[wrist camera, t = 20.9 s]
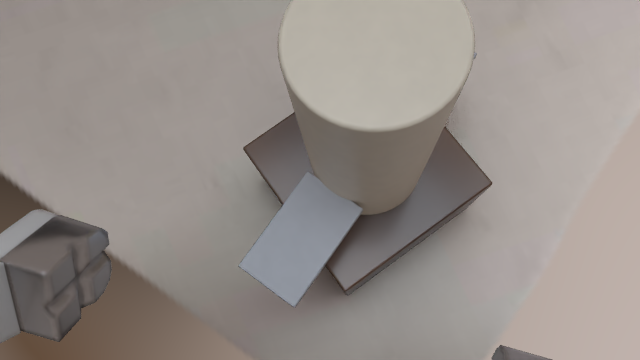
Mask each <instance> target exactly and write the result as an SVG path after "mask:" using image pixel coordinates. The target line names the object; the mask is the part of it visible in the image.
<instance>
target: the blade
mask: <svg viewBox="0 0 640 360" xmlns="http://www.w3.org/2000/svg"><path fill="white" fill-rule="evenodd" d="M476 55H477V54H476V53H475V33H474V28H473V23H472V20H471V17H470V15H469V12H468V9H467V7H466V6H465V4H464V2H463V0H291V2H290V4H289V6H288V8H287V10H286V11H285V13H284V16H283V19H282V22H281V25H280V30H279V35H278V57H279V62H280V66H281V70H282V73H283V77H284V80H285V83H286V86H287V89H288V93H289V96H290V99H291V102H292V105H293V109H294V112H295V115H296V118H297V121H298V125H299V128H300V131H301V134H302V137H303V141H304V144H305V147H306V150H307V153H308V157H309V160H310V163H311V166H312V169H313V173H314V175H312V174H311V173H309V172H307V173H306V174H305V175H304V177H303V178H302V180H301V181H300V182H299V184H298V185H297V186H296V188H295V189H294V190H293V192H292V193H291V195H290V196H289V197H288V199H287V200H286V201H285V203H284V204H283V205H282V207H281V208H280V210H279V211H278V212H277V214H276V215H275V216H274V218H273V219H272V220H271V222H270V223H269V225H268V226H267V227H266V229H265V230H264V231H263V233H262V234H261V235H260V237H259V238H258V239H257V241H256V242H255V244H254V245H253V246H252V248H251V249H250V250H249V252H248V253H247V254H246V256H245V257H244V259H243V260H242V261H241V263H240V264H239V267H240V268H241V269H243V270H244V271H245V272H247V273H248V274H249V275H251V276H252V277H253V278H255V279H256V280H257V281H259V282H260V283H261V284H263V285H264V286H265V287H267V288H268V289H269V290H271V291H272V292H274V293H275V294H276V295H278V296H279V297H280V298H282V299H283V300H284V301H286V302H287V303H288V304H290V305H291V306H292V307H296V306H297V305H298V303H299V302H300V300H301V299H302V297H303V296H304V295H305V293H306V292H307V290H308V289H309V287H310V286H311V285H312V283H313V282H314V280H315V279H316V277H317V276H318V275H319V273H320V272H321V270H322V269H323V267H324V266H325V265H326V263H327V262H328V260H329V259H330V257H331V256H332V255H333V253H334V252H335V250H336V249H337V247H338V246H339V245H340V243H341V242H342V240H343V239H344V237H345V236H346V235H347V233H348V232H349V230H350V229H351V227H352V226H353V225H354V223H355V222H356V220H357V219H358V217H359V216H360V215H373V214H379V213H383V212H386V211H389V210H391V209H393V208H395V207H397V206H398V205H400V204H401V203H402V202H404V201H405V200H406V199H407V198H408V197H409V195H410V194H411V193H412V192H413V190H414V188H415V186H416V185H417V183H418V180H419V178H420V176H421V174H422V172H423V170H424V168H425V166H426V164H427V162H428V159H429V157H430V155H431V153H432V151H433V149H434V147H435V145H436V143H437V141H438V139H439V136H440V134H441V132H442V130H443V128H444V126H445V124H446V122H447V120H448V118H449V116H450V113H451V111H452V109H453V107H454V105H455V103H456V101H457V99H458V97H459V95H460V93H461V90H462V88H463V86H464V84H465V82H466V80H467V78H468V75H469V73H470V70H471V67H472V63H473V60H474V59H475V57H476Z"/></svg>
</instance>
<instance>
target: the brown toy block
mask: <svg viewBox="0 0 640 360" xmlns="http://www.w3.org/2000/svg"><path fill="white" fill-rule="evenodd" d="M243 149H244V151H245V153H246V154H247V155H248V157H249V158H250V160H251V161H252V162H253V164H254V165H255V167H256V168H257V170H258V171H259V172H260V174H261V175H262V177H263V178H264V180H265V181H266V182H267V184H268V185H269V187H270V188H271V189H272V191H273V192H274V194H275V195H276V196H277V198H278V199H279V201H280V202H281V204H282V205H283V204H284V203H285V201H286V200H287V199H288V197H289V196H290V195H291V193H292V192H293V190H294V189H295V188H296V186H297V185H298V184H299V182H300V181H301V180H302V178H303V177H304V175H305V174H306V173H307V172H309V173H311V174H312V175H314V173H313V169H312V166H311V163H310V160H309V157H308V153H307V150H306V147H305V144H304V141H303V137H302V134H301V131H300V128H299V125H298V121H297V118H296V115H295V112H294V113H293V114H291V115H290V116H288V117H287V118H285V119H284V120H283V121H281V122H280V123H278V124H277V125H275V126H274V127H272V128H271V129H269V130H268V131H267V132H265V133H264V134H262V135H261V136H259V137H258V138H256V139H255V140H253V141H252V142H251V143H249V144H248V145H246V146H245V147H244V148H243ZM491 185H492V182H491V181H490V179H489V178H488V177H487V176H486V175H485V173H484V172H483V171H482V170H481V169H480V168H479V166H478V165H477V164H476V163H475V162H474V160H473V159H472V158H471V157H470V156H469V155H468V153H467V152H466V151H465V150H464V149H463V147H462V146H461V145H460V144H459V143H458V142H457V140H456V139H455V138H454V137H453V136H452V134H451V133H450V132H449V131H448V130H447V129H446V127H445V126H444V128H443V130H442V132H441V134H440V136H439V139H438V141H437V143H436V145H435V147H434V149H433V151H432V153H431V155H430V157H429V159H428V162H427V164H426V166H425V168H424V170H423V172H422V174H421V176H420V178H419V180H418V183H417V185H416V186H415V188H414V190H413V192H412V193H411V194H410V195H409V197H408V198H407V199H406V200H405V201H404V202H402V203H401V204H400V205H398V206H397V207H395V208H393V209H391V210H389V211H386V212H383V213H379V214H373V215H360V216H359V217H358V219H357V220H356V222H355V223H354V225H353V226H352V227H351V229H350V230H349V232H348V233H347V235H346V236H345V237H344V239H343V240H342V242H341V243H340V245H339V246H338V247H337V249H336V250H335V252H334V253H333V255H332V256H331V257H330V259H329V260H328V262H327V263H326V265H325V266H326V267H327V269H328V270H329V271H330V273H331V274H332V276H333V277H334V278H335V280H336V281H337V283H338V284H339V286H340V287H341V288H342V290H343V291H344V293H345V294H346V295H349V294H351V293H352V292H354V291H355V290H356V289H358V288H359V287H360V286H362V285H363V284H364V283H366V282H367V281H368V280H370V279H371V278H373V277H374V276H375V275H377V274H378V273H379V272H381V271H382V270H383V269H385V268H386V267H387V266H389V265H390V264H392V263H393V262H394V261H396V260H397V259H398V258H400V257H401V256H402V255H404V254H405V253H406V252H408V251H409V250H410V249H412V248H413V247H415V246H416V245H417V244H419V243H420V242H421V241H423V240H424V239H425V238H427V237H428V236H429V235H431V234H432V233H434V232H435V231H436V230H438V229H439V228H440V227H442V226H443V225H444V224H446V223H447V222H448V221H450V220H451V219H453V218H454V217H455V216H457V215H458V214H459V213H461V212H462V211H463V210H465V209H466V208H467V207H468V206H469V205H471V204H472V203H473V202H474V201H475V200H476V199H477V198H478V197H479V196H480V195H481V194H482V193H483V192H485V191H486V190H487V189H488V188H489V187H490V186H491Z"/></svg>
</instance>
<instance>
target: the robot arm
mask: <svg viewBox="0 0 640 360" xmlns="http://www.w3.org/2000/svg"><path fill="white" fill-rule="evenodd" d="M108 245H109V239H108V232H107V231H105V230H104V229H102V228H99V227H96V226H93V225H90V224H87V223H84V222H80V221H77V220H74V219H71V218H68V217H65V216H62V215H57V214H54V213H51V212H48V211H45V210H42V209H38V210H33V211H31V212H30V213H28V214H27V215H25V216H24V217H23V218H21V219H20V220H19V221H17V222H16V223H14V224H13V225H12V226H10V227H9V228H8V229H6V230H5V231H4V232H2V233H1V234H0V343H2V342H4V341H6V340H8V339H10V338H12V337H14V336H16V335H18V334H19V333H21V332H20V331H23V332H27V333H30V334H34V335H37V336H40V337H44V338H47V339H50V340H54V341H57V342H60V341H61V339H62V338H63V337H64V336H65V335H66V334H67V333H68V332H69V331H70V330H71V328H72V327H73V326H74V325H75V324H76V323H77V322H78V321H79V320H80V319H81V308H83V307H86V306H88V305H91V304H93V303H95V302H96V301H97V300H98V299H99V297H100V296H101V295H102V294H103V293H104V291H105V289H106V286H107V285H108V282H109V280H110V276H111V270H112V269H111V260H110V259H109V257H108V256H107V254H106V253H105V252H104V249H105V248H106V247H107V246H108ZM492 360H552V359H548V358H545V357H541V356H537V355H534V354H531V353H527V352H523V351H520V350H516V349H513V348H510V347H506V346H502V345H500V346H499V347H498V348H497V349H496V351H495V353H494V355H493V356H492Z"/></svg>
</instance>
